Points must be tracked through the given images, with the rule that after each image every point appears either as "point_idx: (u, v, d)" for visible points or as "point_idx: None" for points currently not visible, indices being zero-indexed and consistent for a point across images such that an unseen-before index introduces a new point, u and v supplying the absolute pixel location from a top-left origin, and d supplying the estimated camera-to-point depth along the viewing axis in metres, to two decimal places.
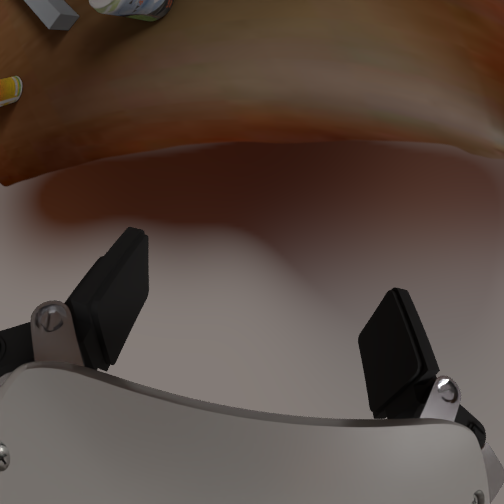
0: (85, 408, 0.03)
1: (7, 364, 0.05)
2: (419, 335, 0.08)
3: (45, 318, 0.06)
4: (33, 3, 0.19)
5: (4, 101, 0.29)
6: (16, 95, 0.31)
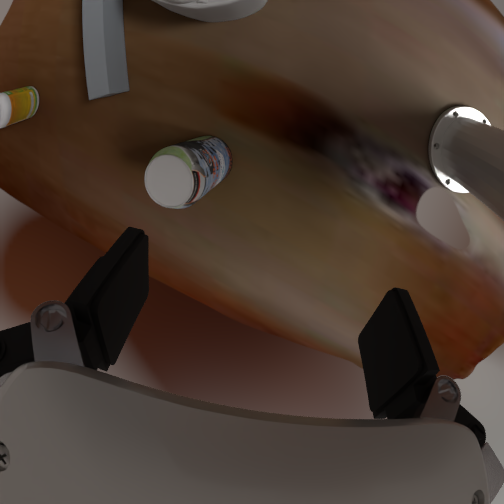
0: (85, 408, 0.03)
1: (7, 364, 0.05)
2: (419, 335, 0.08)
3: (45, 318, 0.06)
4: (89, 35, 0.21)
5: (12, 123, 0.27)
6: (27, 117, 0.29)
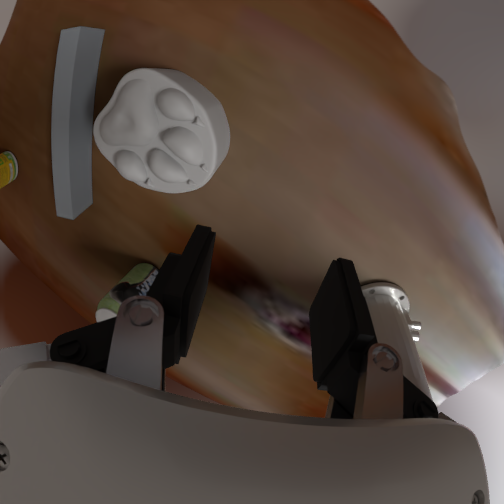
0: (85, 408, 0.03)
1: (91, 363, 0.06)
2: (356, 300, 0.08)
3: (134, 313, 0.07)
4: (56, 156, 0.27)
5: None
6: None
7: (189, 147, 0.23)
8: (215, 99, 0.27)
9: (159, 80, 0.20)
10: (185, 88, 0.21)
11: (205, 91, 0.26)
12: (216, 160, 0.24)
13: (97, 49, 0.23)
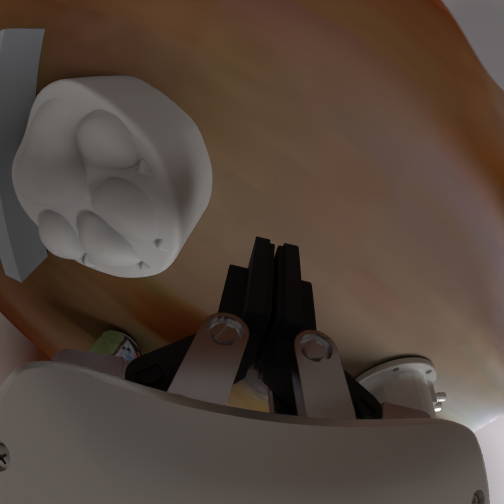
0: (85, 408, 0.03)
1: None
2: (290, 285, 0.08)
3: (218, 331, 0.07)
4: None
5: None
6: None
7: (130, 217, 0.13)
8: (186, 119, 0.17)
9: (81, 99, 0.11)
10: (123, 108, 0.12)
11: (169, 107, 0.16)
12: (181, 233, 0.15)
13: (33, 56, 0.14)
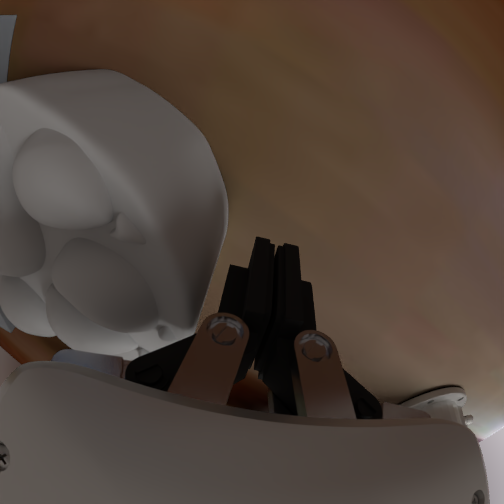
0: (85, 408, 0.03)
1: None
2: (290, 285, 0.08)
3: (219, 332, 0.07)
4: None
5: None
6: None
7: (112, 308, 0.08)
8: (189, 128, 0.12)
9: (18, 113, 0.05)
10: (82, 123, 0.06)
11: (163, 112, 0.11)
12: (194, 317, 0.10)
13: (1, 50, 0.08)
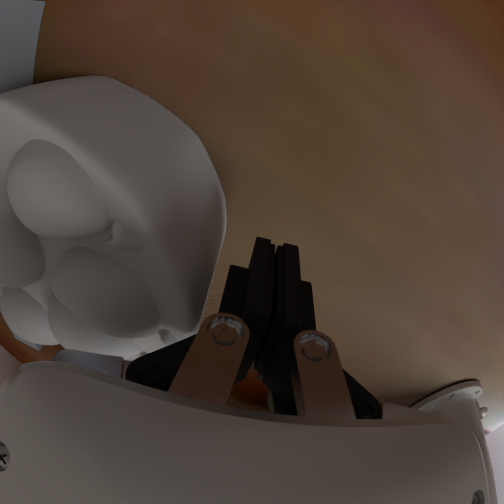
0: (85, 408, 0.03)
1: None
2: (290, 285, 0.08)
3: (219, 332, 0.07)
4: None
5: None
6: None
7: (113, 315, 0.08)
8: (183, 130, 0.12)
9: (9, 125, 0.05)
10: (73, 132, 0.06)
11: (155, 115, 0.11)
12: (196, 320, 0.10)
13: (28, 40, 0.08)
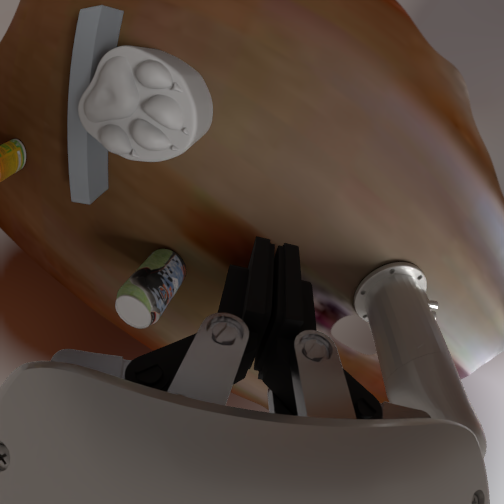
0: (85, 408, 0.03)
1: None
2: (290, 285, 0.08)
3: (218, 331, 0.07)
4: (73, 138, 0.26)
5: None
6: None
7: (168, 111, 0.21)
8: (194, 71, 0.25)
9: (137, 54, 0.19)
10: (162, 59, 0.20)
11: (184, 64, 0.24)
12: (197, 123, 0.23)
13: (116, 29, 0.22)
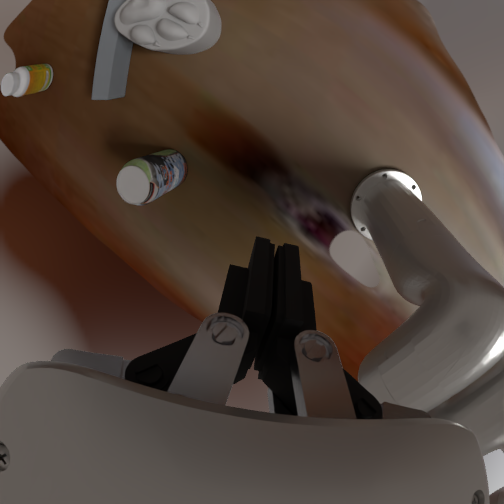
0: (85, 408, 0.03)
1: None
2: (290, 285, 0.08)
3: (218, 331, 0.07)
4: (103, 45, 0.27)
5: None
6: (39, 91, 0.33)
7: (189, 9, 0.23)
8: None
9: None
10: None
11: None
12: (209, 20, 0.24)
13: None
